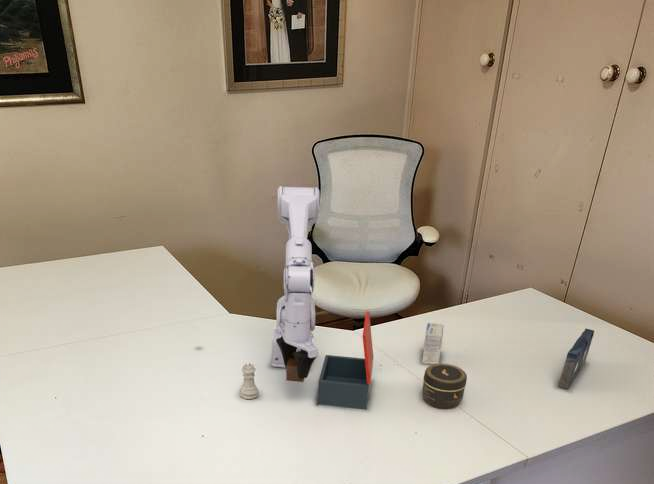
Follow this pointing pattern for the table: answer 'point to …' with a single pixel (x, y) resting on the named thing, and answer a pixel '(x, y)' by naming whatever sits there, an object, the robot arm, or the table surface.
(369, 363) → the lid
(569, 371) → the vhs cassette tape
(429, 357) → the medicine box
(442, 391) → the jar
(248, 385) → the rook chess piece
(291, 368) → the block
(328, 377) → the dark grey open box
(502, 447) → the table surface
